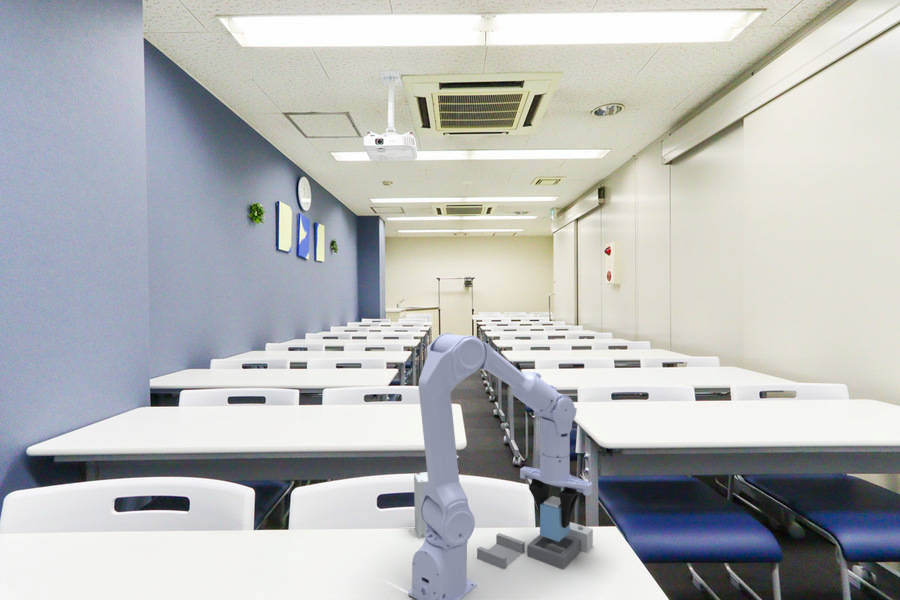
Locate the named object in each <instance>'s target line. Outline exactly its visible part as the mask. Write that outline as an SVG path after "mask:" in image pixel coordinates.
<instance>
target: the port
mask: <svg viewBox="0 0 900 600" xmlns="http://www.w3.org/2000/svg"><path fill="white" fill-rule="evenodd" d="M593 533H594V530H593V528H591V527H588V526H584V525H581V524H578V523H576V522H571V521H570V532H569V533H568V534H567V535H566V536H565V537H564V538H563V539H562V540H560V541H559V542H558V541H555V540H552V539H549V538H546V537H543V536H540V534H539V535H538V536H536V537H535V538H534V539H533V540H531V542H529V543H528V544H527V545H526V546H527V547H526V549H527V552H526V556H527V557H528V558H530V559H534V560H536V561H539V562H542V563H544V564H547V565H550V566H551V567H554V568H558V569H559V570H560V569H561V570H562V571H564V570H565V569H566V568H567V567H568V565H570V563H572V561H573V560H574V559H575V558H576V557H577V556H578V555H579V554H580V553H581V552H583V553H585V554H588V553H589V552H590V551H591V549H593V546H594V545H593V543H594V542H593V541H594V540H593V539H594V535H593ZM548 544H552V545H555V546H557V547H561V548H562V549H563V551H562V552H561V553H559V552H555V551H553V550H550V549H547V548H545V547H547V545H548Z"/></svg>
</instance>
